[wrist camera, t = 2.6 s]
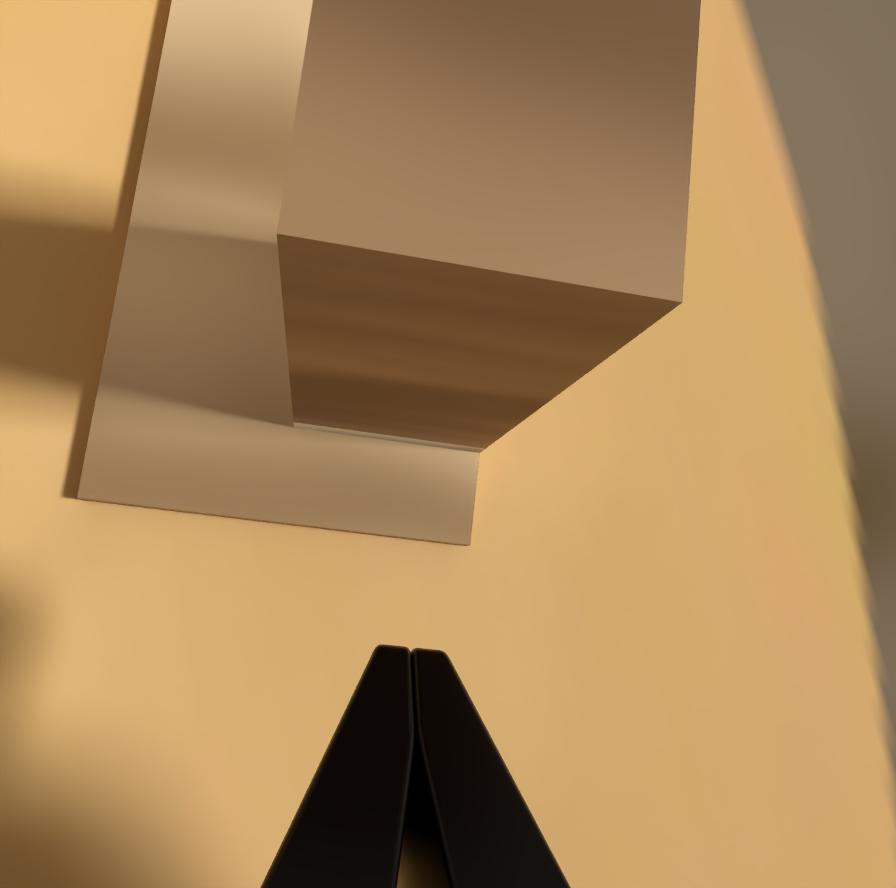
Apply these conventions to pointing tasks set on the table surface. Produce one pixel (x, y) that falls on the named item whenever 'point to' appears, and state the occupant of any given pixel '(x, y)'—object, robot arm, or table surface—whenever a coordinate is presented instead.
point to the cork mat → (236, 313)
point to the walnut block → (479, 206)
